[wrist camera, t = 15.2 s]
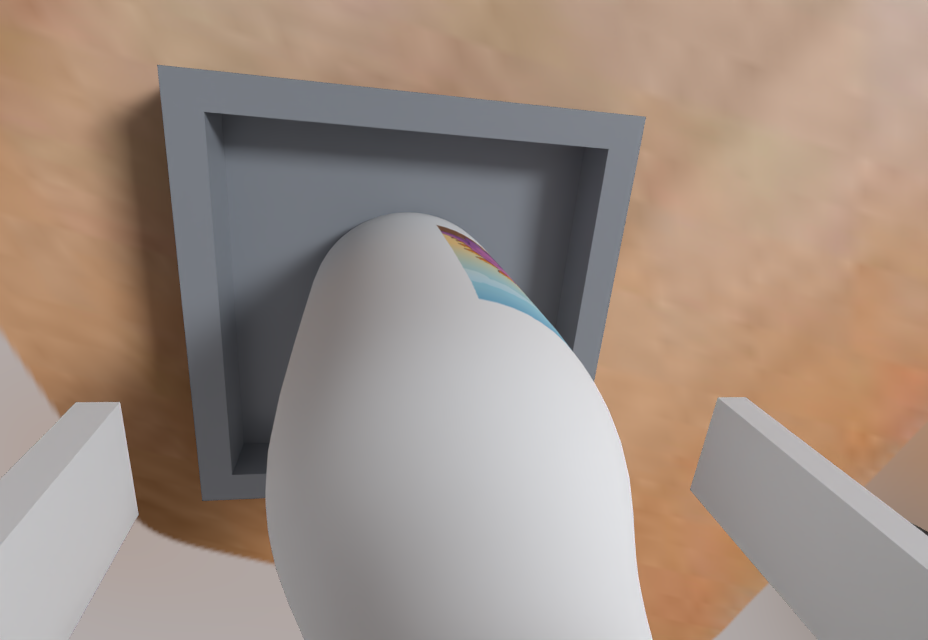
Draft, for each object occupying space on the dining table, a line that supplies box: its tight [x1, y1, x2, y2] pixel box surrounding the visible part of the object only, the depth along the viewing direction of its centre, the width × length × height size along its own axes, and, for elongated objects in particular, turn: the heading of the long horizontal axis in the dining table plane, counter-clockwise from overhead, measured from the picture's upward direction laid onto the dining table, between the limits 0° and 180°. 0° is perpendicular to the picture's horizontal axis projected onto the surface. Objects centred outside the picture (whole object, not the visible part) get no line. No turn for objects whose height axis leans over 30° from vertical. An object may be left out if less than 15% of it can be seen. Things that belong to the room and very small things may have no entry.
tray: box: [157, 65, 646, 501], centre depth 21 cm, size 16×16×3 cm
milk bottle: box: [265, 212, 653, 640], centre depth 13 cm, size 8×8×20 cm
